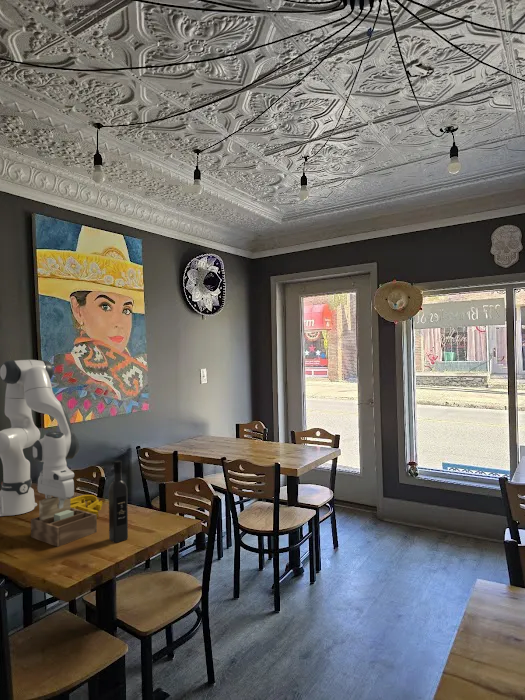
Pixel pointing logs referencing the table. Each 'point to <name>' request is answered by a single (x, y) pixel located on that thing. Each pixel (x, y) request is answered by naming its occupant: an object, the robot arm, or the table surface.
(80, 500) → the decorative art
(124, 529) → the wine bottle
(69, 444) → the robot arm
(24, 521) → the table surface
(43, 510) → the plywood sheet
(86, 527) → the box
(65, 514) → the offcut short
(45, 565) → the table surface
